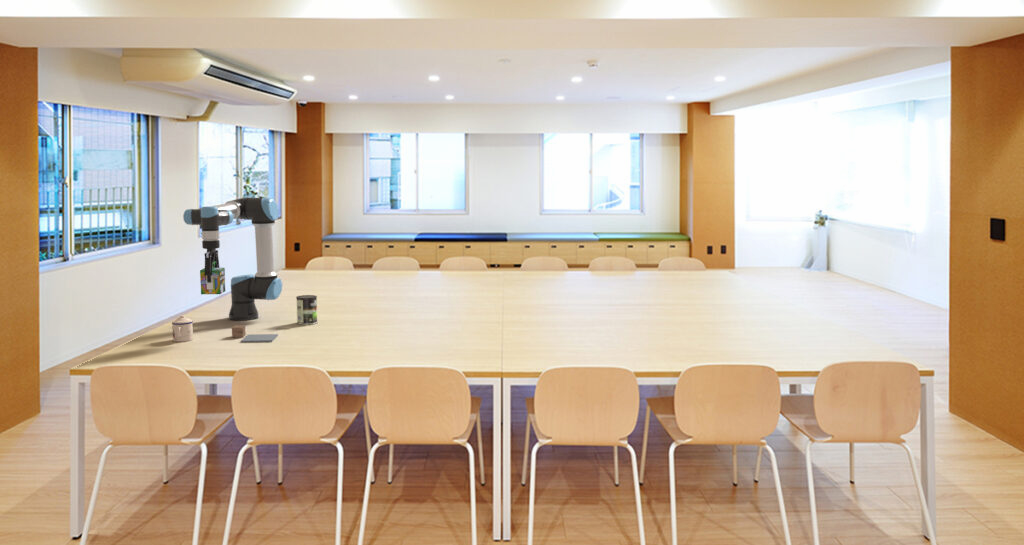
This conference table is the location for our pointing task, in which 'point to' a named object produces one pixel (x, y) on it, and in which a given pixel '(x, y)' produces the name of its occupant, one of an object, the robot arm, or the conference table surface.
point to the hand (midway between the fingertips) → (213, 287)
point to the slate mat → (259, 338)
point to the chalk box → (217, 281)
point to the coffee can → (306, 309)
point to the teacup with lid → (182, 329)
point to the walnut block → (238, 331)
